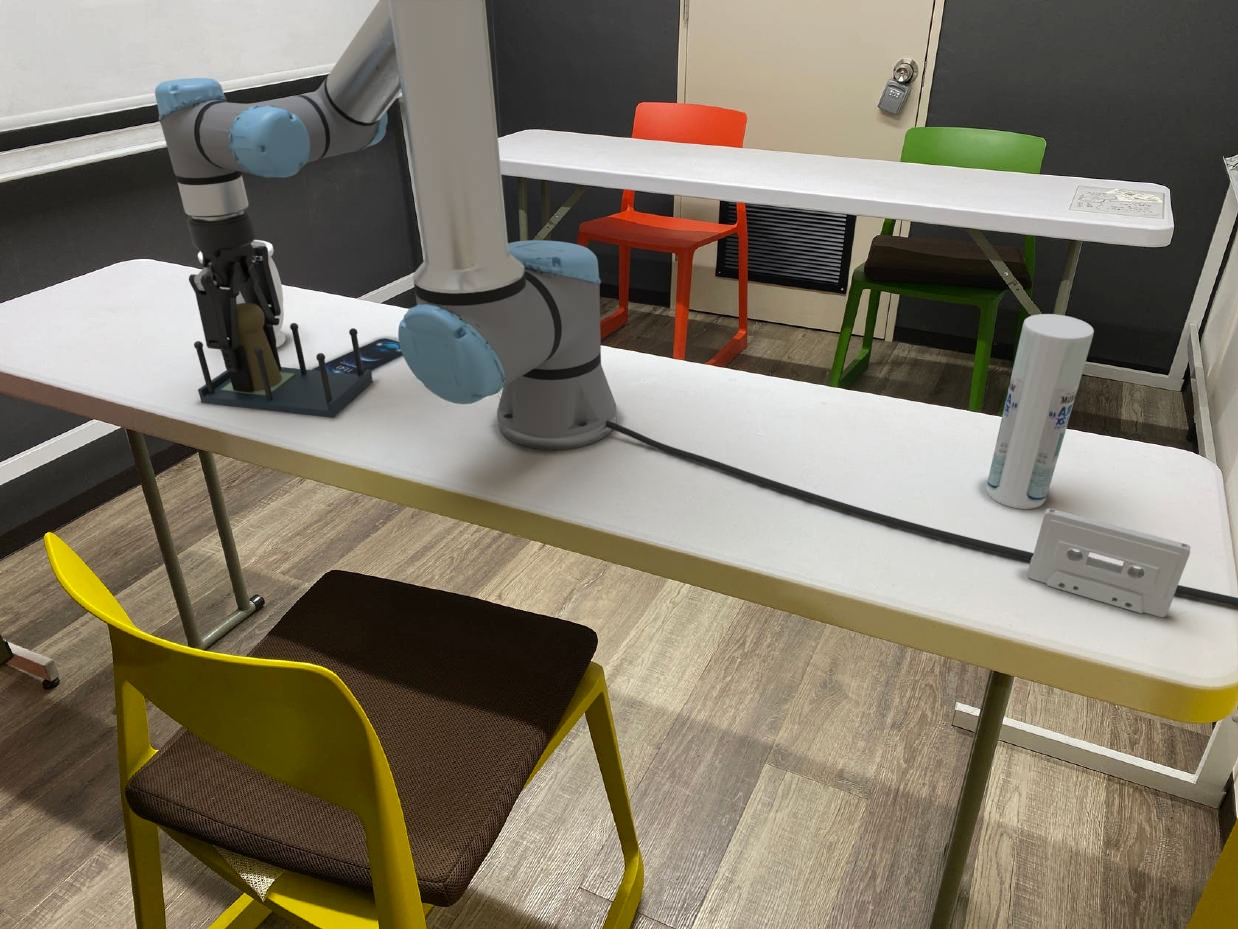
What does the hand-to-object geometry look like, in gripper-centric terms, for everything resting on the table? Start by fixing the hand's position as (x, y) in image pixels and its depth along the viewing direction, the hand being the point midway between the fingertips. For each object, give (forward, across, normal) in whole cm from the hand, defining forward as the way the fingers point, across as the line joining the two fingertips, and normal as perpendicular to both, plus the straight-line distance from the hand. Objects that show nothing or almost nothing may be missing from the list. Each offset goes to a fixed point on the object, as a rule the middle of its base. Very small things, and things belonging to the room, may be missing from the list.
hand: (258, 379), depth 125 cm
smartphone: (+2, -12, +10) cm, 16 cm away
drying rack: (+1, 0, +4) cm, 5 cm away
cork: (0, 0, 0) cm, 0 cm away
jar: (+2, -14, -10) cm, 17 cm away
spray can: (+2, +5, +98) cm, 99 cm away
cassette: (+2, +22, +104) cm, 106 cm away
